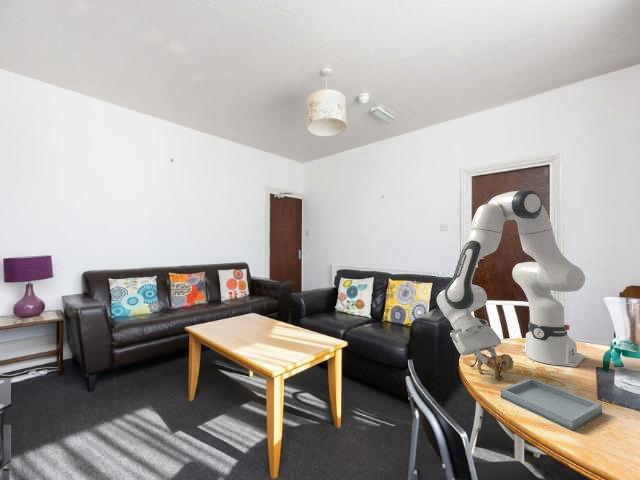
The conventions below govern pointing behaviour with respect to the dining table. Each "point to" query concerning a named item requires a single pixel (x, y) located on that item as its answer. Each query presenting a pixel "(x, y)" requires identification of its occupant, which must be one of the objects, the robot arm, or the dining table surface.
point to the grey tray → (552, 403)
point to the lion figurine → (496, 364)
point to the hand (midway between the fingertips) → (492, 361)
